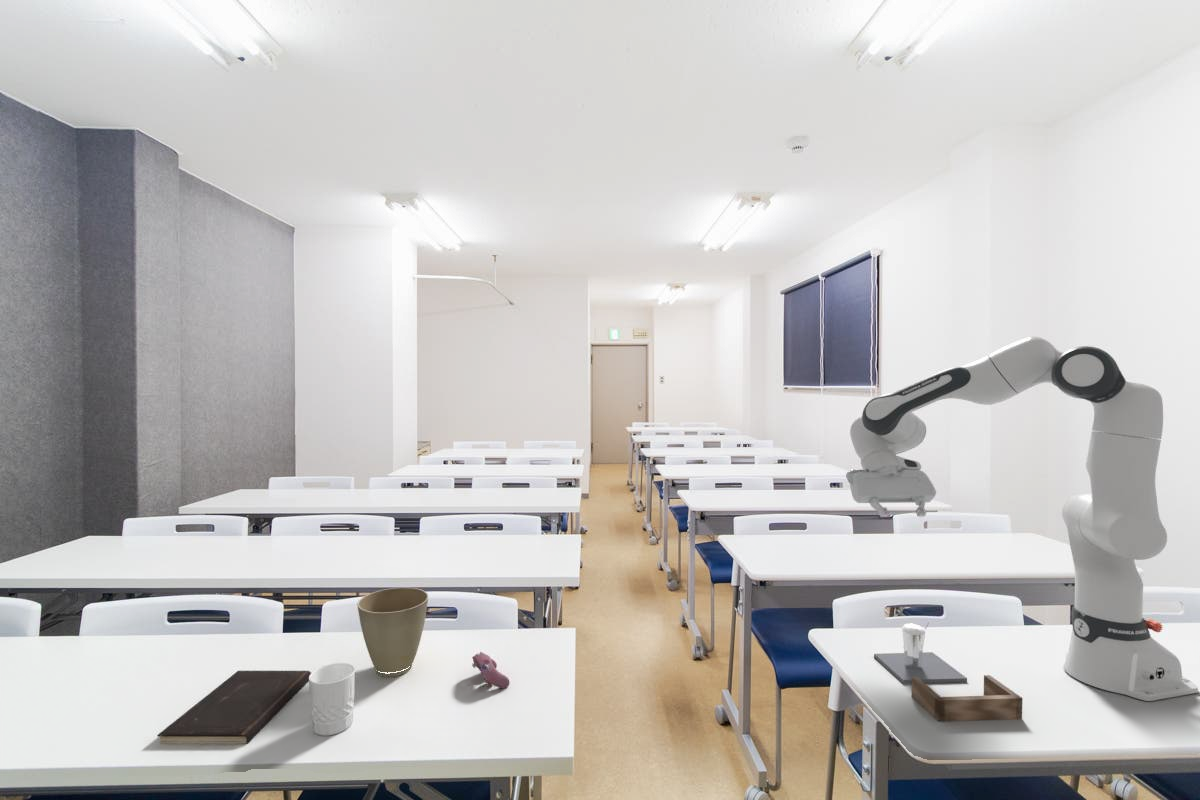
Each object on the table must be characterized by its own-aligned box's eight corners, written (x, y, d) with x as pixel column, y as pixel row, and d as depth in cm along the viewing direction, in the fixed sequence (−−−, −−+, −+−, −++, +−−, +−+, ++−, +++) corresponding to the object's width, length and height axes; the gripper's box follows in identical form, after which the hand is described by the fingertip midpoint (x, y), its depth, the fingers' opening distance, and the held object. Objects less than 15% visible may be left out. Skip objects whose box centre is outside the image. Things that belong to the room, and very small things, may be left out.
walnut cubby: (989, 694, 120) (989, 675, 119) (1022, 718, 111) (1022, 698, 111) (911, 696, 119) (911, 677, 119) (938, 721, 110) (938, 700, 110)
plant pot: (342, 679, 126) (341, 606, 125) (390, 649, 140) (389, 584, 139) (399, 692, 121) (398, 616, 120) (442, 660, 135) (441, 591, 134)
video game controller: (479, 678, 129) (465, 654, 128) (497, 665, 131) (483, 640, 130) (493, 699, 121) (478, 673, 119) (512, 685, 123) (497, 659, 121)
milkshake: (931, 671, 127) (932, 626, 127) (905, 669, 128) (905, 624, 128) (924, 662, 132) (925, 618, 131) (898, 659, 133) (899, 616, 132)
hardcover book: (157, 747, 104) (157, 734, 103) (238, 680, 127) (238, 670, 126) (247, 747, 104) (247, 734, 103) (311, 680, 126) (311, 670, 126)
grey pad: (932, 655, 136) (932, 652, 136) (967, 681, 124) (967, 678, 124) (874, 657, 136) (874, 653, 136) (903, 683, 124) (903, 680, 124)
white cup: (343, 708, 115) (342, 658, 114) (364, 723, 110) (363, 671, 109) (302, 727, 109) (301, 674, 108) (321, 743, 104) (320, 688, 103)
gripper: (848, 462, 149) (866, 508, 140) (925, 462, 150) (949, 508, 141) (839, 477, 154) (857, 522, 144) (915, 476, 155) (937, 521, 145)
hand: (903, 515), depth 143 cm, fingers open, 8 cm apart
